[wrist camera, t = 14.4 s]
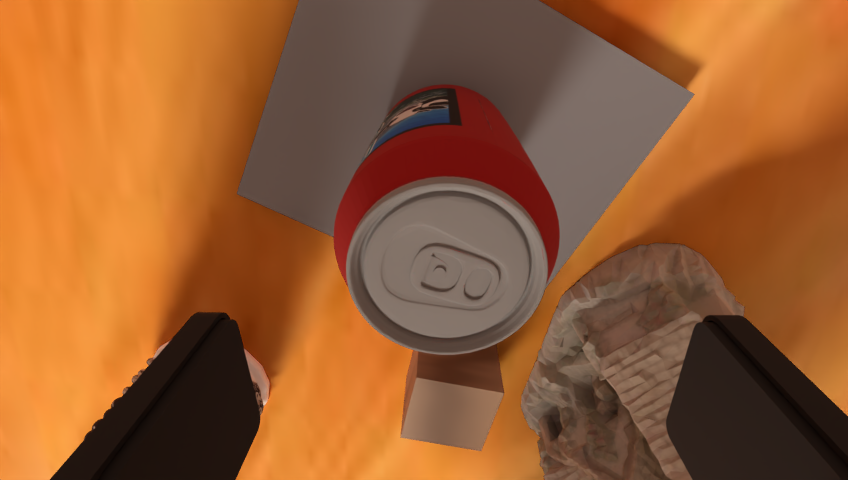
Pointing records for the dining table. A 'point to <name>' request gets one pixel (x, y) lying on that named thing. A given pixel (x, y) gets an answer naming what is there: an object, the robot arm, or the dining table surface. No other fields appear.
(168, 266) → the dining table surface
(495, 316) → the beverage can
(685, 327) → the ceramic cottage
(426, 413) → the walnut block
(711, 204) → the dining table surface
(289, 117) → the slate board
